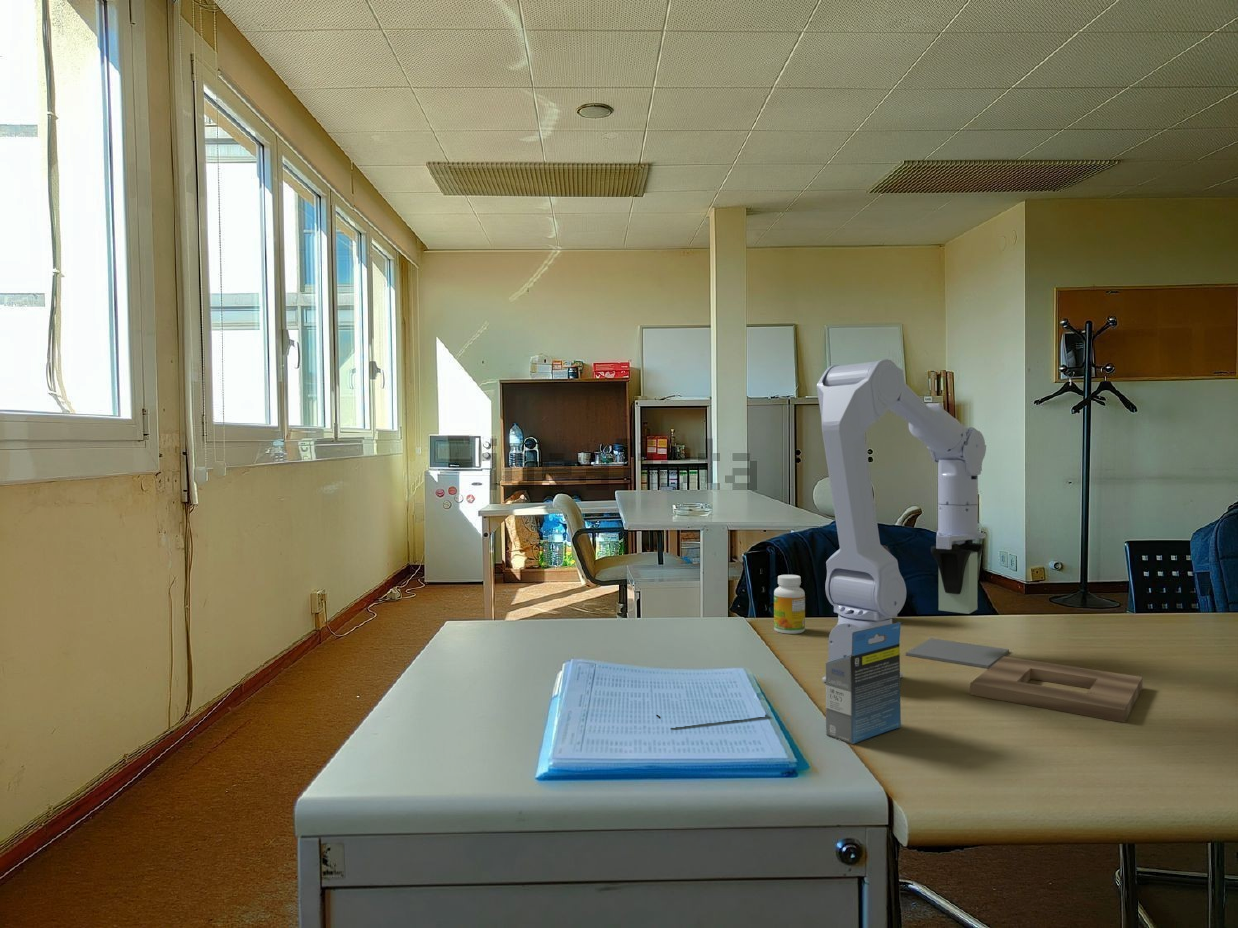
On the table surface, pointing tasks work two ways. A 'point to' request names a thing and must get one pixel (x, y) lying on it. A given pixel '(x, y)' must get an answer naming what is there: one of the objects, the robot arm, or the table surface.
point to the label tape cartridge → (865, 687)
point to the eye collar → (1103, 700)
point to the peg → (968, 595)
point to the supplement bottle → (789, 605)
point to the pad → (958, 652)
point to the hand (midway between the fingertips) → (957, 590)
